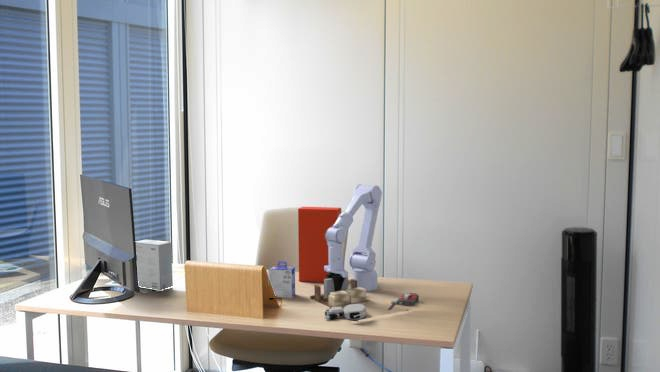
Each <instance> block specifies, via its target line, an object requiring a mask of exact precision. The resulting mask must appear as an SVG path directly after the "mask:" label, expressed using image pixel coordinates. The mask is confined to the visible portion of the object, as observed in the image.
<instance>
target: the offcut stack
mask: <svg viewBox="0 0 660 372" xmlns="http://www.w3.org/2000/svg"><path fill="white" fill-rule="evenodd" d="M328 297H329V305H331V306H334V307H335V306H341V305H346V304H350V303H357V302H362V301H366V299H367V291H366V289H364V288H361V287H359V288H353V289H351V288H348V289H347V290H345V291H343V290H342V291H336V292H331V293H330V295H328ZM362 303H363V302H362ZM357 304H358V303H357ZM346 306H347V305H346ZM341 307H342V306H341Z"/></svg>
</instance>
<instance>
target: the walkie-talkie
mask: <svg viewBox="0 0 660 372" xmlns="http://www.w3.org/2000/svg"><path fill="white" fill-rule="evenodd" d="M419 296H420V295H419V294H418V293H416V292H415V293H413V292H404V293H402V294H401V295H400V296H399V297H396V298H393V299H392V300H391V302H390V303H391V305H390V306H389V307H388V308H387V310H388V311H390V310H392V308H394V306H395V305H398V306H400V305H401V306H405V307H414V306H415V305H416V303H418V302H420V301H419V300H420V297H419Z"/></svg>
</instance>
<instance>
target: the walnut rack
mask: <svg viewBox="0 0 660 372" xmlns="http://www.w3.org/2000/svg"><path fill="white" fill-rule="evenodd" d="M353 288H357V280H354V278H351V279H350V289H353ZM309 299H311V300H312V301H314V302H317V303H319V304H322V305H324V306H327V307H328V308H330V307H334V306H331V305H329V297H324V293H322V288H321V285H319V284H316V285H314V295H309ZM367 302H372V300H370V299H368V298H366V301H362V302H357V303H350V304H363V303H367ZM347 305H349V304H346V305H341V306H335V307H345V306H347Z"/></svg>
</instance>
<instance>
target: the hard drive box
mask: <svg viewBox="0 0 660 372" xmlns="http://www.w3.org/2000/svg"><path fill="white" fill-rule="evenodd" d="M135 242H136V255H137V268H138V281H139V286H141V287H146V288H152V289H157V290H162V289H165V288H168V287H171V286H173V285H174V283H173V259H172V258H173V256H172V242H171V241H164V240H163V241H162V240H154V239H142V240H136V241H135ZM173 287H174V286H173Z"/></svg>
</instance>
